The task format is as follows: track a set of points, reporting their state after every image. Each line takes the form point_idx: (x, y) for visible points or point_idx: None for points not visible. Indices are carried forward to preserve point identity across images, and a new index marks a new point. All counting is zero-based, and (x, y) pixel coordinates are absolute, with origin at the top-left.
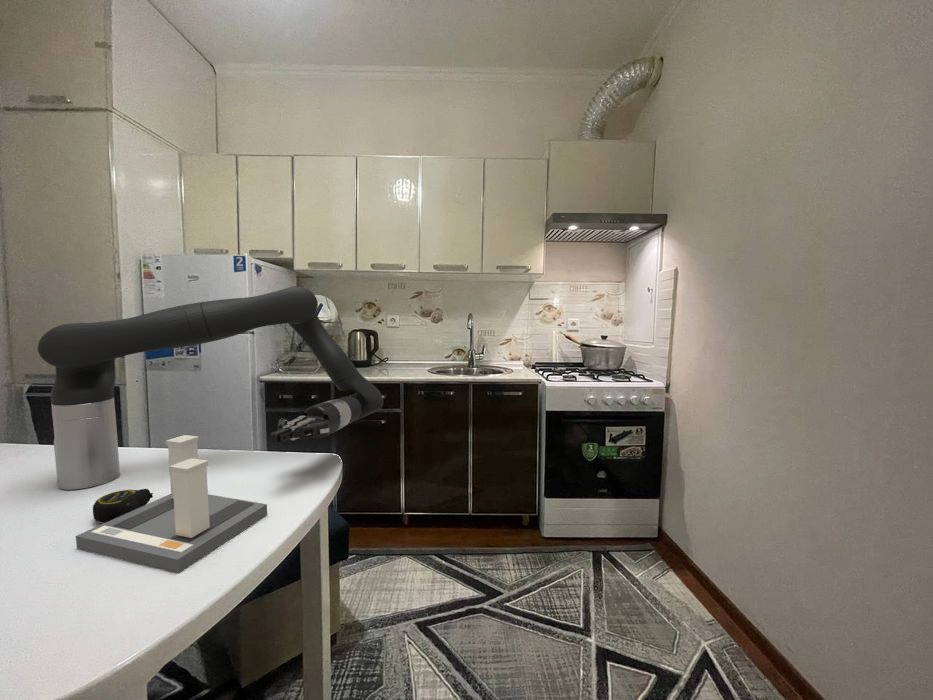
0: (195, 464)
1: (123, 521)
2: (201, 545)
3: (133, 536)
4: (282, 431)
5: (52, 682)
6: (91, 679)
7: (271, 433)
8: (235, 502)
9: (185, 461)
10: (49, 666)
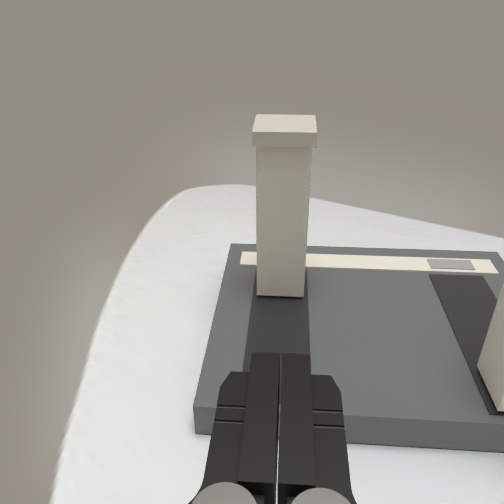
0: (262, 122)
1: (483, 285)
2: (225, 269)
3: (385, 262)
4: (253, 400)
5: (214, 188)
6: (182, 192)
7: (307, 354)
8: None
9: (308, 125)
10: (236, 193)
